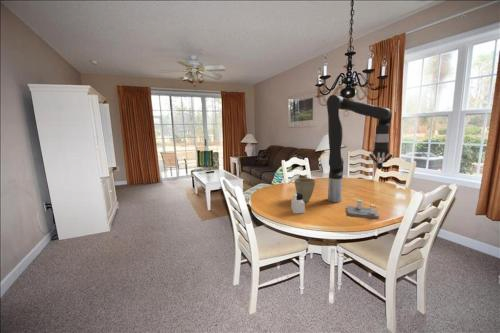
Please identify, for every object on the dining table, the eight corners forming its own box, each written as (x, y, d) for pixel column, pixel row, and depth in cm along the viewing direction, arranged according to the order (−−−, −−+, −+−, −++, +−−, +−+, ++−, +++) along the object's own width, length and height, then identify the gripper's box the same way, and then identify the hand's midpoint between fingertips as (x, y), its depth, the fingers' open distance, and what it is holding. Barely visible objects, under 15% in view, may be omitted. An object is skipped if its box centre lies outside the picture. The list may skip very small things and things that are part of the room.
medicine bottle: (301, 209, 144) (302, 192, 142) (304, 213, 137) (305, 195, 135) (291, 209, 144) (291, 192, 142) (293, 213, 137) (293, 195, 135)
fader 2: (370, 213, 128) (371, 205, 127) (369, 212, 131) (370, 204, 130) (375, 214, 127) (375, 206, 127) (374, 212, 130) (375, 204, 129)
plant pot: (315, 204, 152) (316, 182, 150) (294, 203, 155) (294, 182, 153) (313, 197, 167) (314, 177, 164) (294, 197, 170) (294, 177, 167)
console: (347, 215, 132) (348, 212, 132) (347, 208, 144) (347, 205, 144) (378, 218, 126) (378, 216, 126) (375, 210, 138) (375, 208, 137)
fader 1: (357, 208, 137) (357, 201, 136) (356, 207, 140) (357, 199, 139) (361, 209, 136) (361, 201, 135) (360, 207, 139) (361, 199, 138)
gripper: (370, 141, 131) (368, 169, 134) (395, 141, 126) (393, 170, 129) (368, 141, 138) (366, 167, 141) (392, 141, 133) (390, 168, 136)
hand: (379, 169), depth 135 cm, fingers closed
